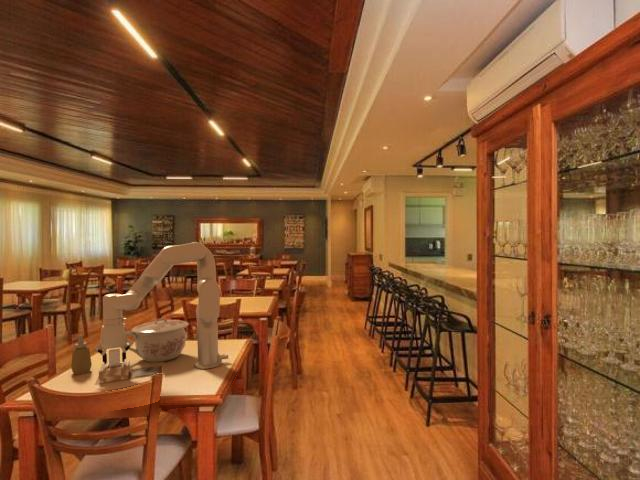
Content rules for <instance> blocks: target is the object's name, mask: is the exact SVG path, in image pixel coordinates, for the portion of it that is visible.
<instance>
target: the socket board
mask: <svg viewBox="0 0 640 480" xmlns="http://www.w3.org/2000/svg"><path fill="white" fill-rule="evenodd" d="M130 365H131V361H130V360H129V359H128V360H124V362H122V360H120V367H115V368H109V362H107V363H106V364H105V365H104V363H102V364H101V365H100V368H99V369H98V370H99V371H98V377H97V379H96V381H95V383H94V386H97V385H104V384H110V383H116V382H117V383H118V382H123V381H128V380H136V379H141V378H148V377H153V376H152V375H154V374H157V373H162V369H163V368H162V365H155V366H150V367H148V366H147V367H144V368H141V367H140V368H136V369H135V368H134V369H131V367H130ZM162 374H163V373H162Z"/></svg>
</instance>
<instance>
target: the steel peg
mask: <svg viewBox="0 0 640 480" xmlns="http://www.w3.org/2000/svg"><path fill="white" fill-rule="evenodd" d="M120 349H121V347H119V348H111V349H108V350H109V351H108V363H109V368H115V367H120V361H121V350H120Z"/></svg>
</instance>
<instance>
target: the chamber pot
mask: <svg viewBox="0 0 640 480" xmlns="http://www.w3.org/2000/svg"><path fill="white" fill-rule="evenodd" d="M189 325H190V324H189V322H188V321H185V320H180V319H167V318H163V317H160V318H158V319H156V320H155V321H150V322H148V321H147V322H145V323H141V324H138V325H136V326H134V327H132V328H131V330H128V331H126V332H127V337H130V336H133V340H134V341H133V342H134V345H135V348H133V347H132V346H131V347H130V348H129V349H128V350H127V351H131V352H133V353H134V354H136V355H137V356H138V357H140V358H141V359H142V360H143V361H145V362H148V363H149V362H150V363H157V362H158V363H159V362H163V363H164V362H168V361H171V360H174V359H176V358H177V357H179V356H180V355H181V353H182V351H183V350H184V349H185V347H186V341H187V331H186V330H185V328H187V327H188V326H189ZM128 345H129V344H128V342H127V343H126V346H125V347H127V346H128Z"/></svg>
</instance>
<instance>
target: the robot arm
mask: <svg viewBox="0 0 640 480" xmlns="http://www.w3.org/2000/svg"><path fill="white" fill-rule="evenodd" d="M215 260H216V259H215V257H214V255H213V253H212V252H211V250H210V249H209V248H208V247H207V246H205V245H204V244H203V243H201V242H198V241H193V242H189V243H183V244H178V245H167V246H164V247H163V248H162V249H161V250H160V251H159V253H158V254H157V255H156V256H155V257H154V258H153V260H152V261H151V262H150V263H149V264H148V266H147V267H146V268H145V269H144V270H143V272H142V273H141V275H140V276H139V277H138V278H137V280H136V281H135V282H134V284H133V285H132V286H131V287H130V288H129V289H128V290H127V292H125V294H121V293H108V294H104V296H102V313H103V314H102V317H103V321H102V322H103V325H102V326H101V330H100V340H99V341H98V343H96V344H95V345H94V347H93V350H95V351H96V352H98V353H99V354H100V355H101V356H102V363H103V364H104V365H105V364H106V363H108V354H107V350H110V349H117V348H120V349H121V351H122V353H121V361H122V362H124V361H126V359H127V351H129V350H128V349H129V348H130V347H131V348H132V346H133V345H135V341H133V340H132V339H130V338H129V337H128V336H127V332H128V331H127V327H126V323H124V322H127V318H126V317H124V315H123V311H134V310H136V309H138V308H139V307H140V305H141V302H142V301H143V299H144V298H145V297H146V295H147V294H148V293H149V292H150V291H151V290H152V289H153V288H154V287H155V286H156V285H157V284H159V283H160V282H161V281H162V280H164V277H165V276H166V275H167V274H168V272H169V271H170V270H171V269H172V268H173V266H175V265H180V264H186V263H191V262H196V266H197V284H196V285H197V286H196V290H197V291H196V292H197V293H198V303H197V305H196V310H195V315H196V331H197V332H196V333H197V335H196V336H197V338H196V339H197V340H196V341H197V361H196V362H195V363H194V367H195V368H196V369H199V370H202V369H203V370H206V369H213V368H217V367H220V366H221V365H222V364H223V360H228V359H229V354H226V353H224V354H220V353H219V338H218V337H219V334H218V332H219V329H218V319H219V316H220V312H221V307H220V306H221V290H220V286H219V285H220V284H219V283H218V282H217V270H216V269H217V268H216V261H215ZM126 343H127V345H128V346H127V347H125V346H126ZM128 343H129V344H128Z"/></svg>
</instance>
